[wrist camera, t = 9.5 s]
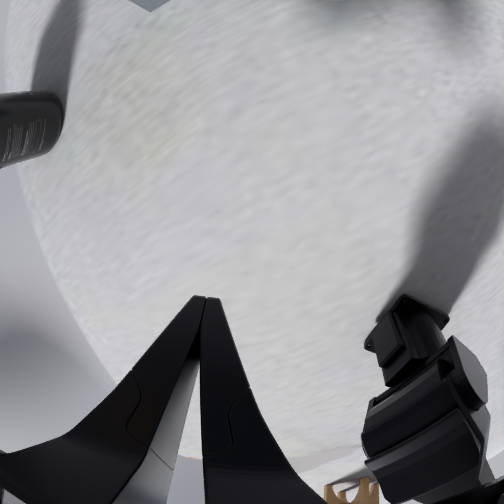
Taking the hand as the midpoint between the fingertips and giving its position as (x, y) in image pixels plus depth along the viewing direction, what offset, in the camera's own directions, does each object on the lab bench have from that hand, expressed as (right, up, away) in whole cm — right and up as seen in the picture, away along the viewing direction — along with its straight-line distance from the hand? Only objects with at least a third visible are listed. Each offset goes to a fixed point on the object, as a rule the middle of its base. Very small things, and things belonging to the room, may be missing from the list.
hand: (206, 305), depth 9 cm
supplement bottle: (-19, +15, +11) cm, 26 cm away
